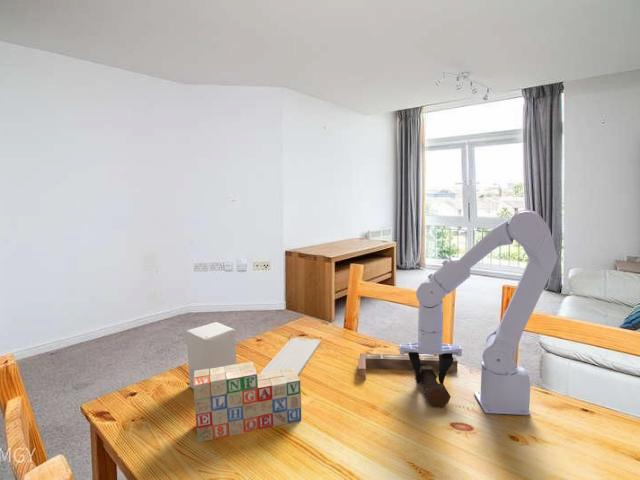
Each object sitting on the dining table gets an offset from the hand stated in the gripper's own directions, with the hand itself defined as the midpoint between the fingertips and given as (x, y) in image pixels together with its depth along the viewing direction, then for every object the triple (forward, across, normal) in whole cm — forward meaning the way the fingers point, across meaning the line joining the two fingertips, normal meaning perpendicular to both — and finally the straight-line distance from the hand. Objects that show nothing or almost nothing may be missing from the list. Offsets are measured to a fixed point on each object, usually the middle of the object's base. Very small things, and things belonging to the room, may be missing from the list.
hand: (429, 381), depth 90 cm
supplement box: (+2, +54, +3) cm, 54 cm away
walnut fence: (+2, +4, -7) cm, 9 cm away
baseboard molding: (+2, +38, -12) cm, 40 cm away
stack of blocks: (+2, +40, +17) cm, 44 cm away
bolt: (+2, 0, +1) cm, 2 cm away
